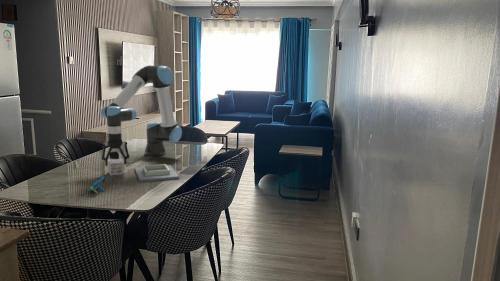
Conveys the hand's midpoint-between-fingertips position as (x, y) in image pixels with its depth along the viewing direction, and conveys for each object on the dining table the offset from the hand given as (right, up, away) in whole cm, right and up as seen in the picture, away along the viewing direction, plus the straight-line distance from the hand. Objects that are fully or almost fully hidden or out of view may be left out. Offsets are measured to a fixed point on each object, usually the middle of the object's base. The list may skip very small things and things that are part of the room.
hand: (116, 170), depth 227 cm
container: (0, -2, 0) cm, 2 cm away
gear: (+1, -8, -31) cm, 33 cm away
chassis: (+24, -2, +1) cm, 24 cm away
